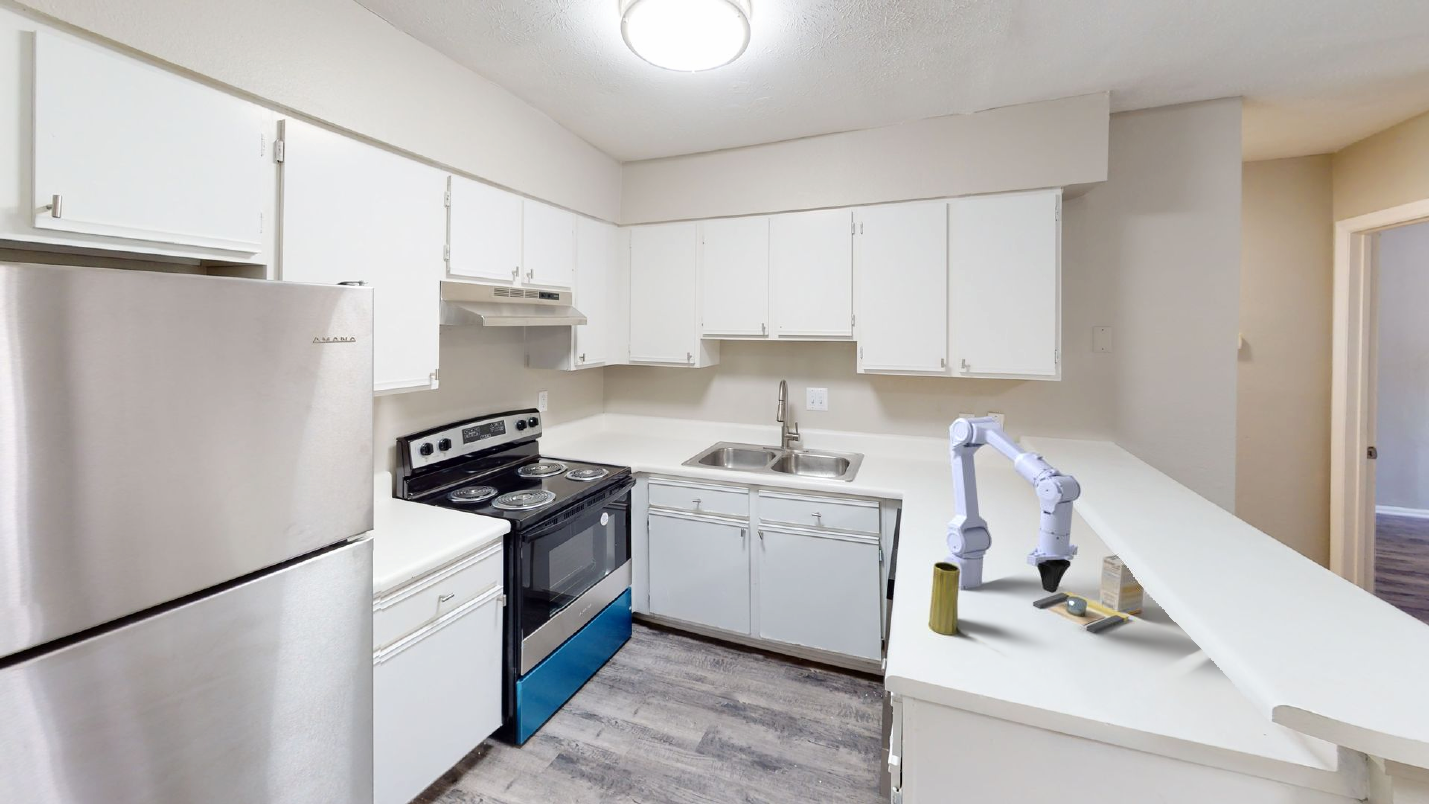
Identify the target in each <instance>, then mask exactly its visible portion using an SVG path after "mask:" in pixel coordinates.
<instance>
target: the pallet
mask: <svg viewBox="0 0 1429 804" xmlns="http://www.w3.org/2000/svg"><path fill="white" fill-rule="evenodd" d="M1066 606H1067V601H1066V602H1064V603H1061V604H1057V605H1055V606H1052V607H1049V608H1047V610H1048V611H1050V612H1053V613H1055V614H1057V615H1059V616H1061V617H1064V618H1065V619H1067V620H1070V621H1073V622H1075V623H1077V624H1079V625H1080V626H1085V625H1086V626H1087V625H1090V624H1092V623H1095V622H1098V621H1099V620H1103V619H1104V618H1105V616H1104V615H1101V614H1099V613H1098V612H1094V611H1093V610H1091V609H1088V608H1086V616H1084V617H1077V616H1073V615H1071V614H1069V613H1067V611H1066ZM1105 619H1106V618H1105Z"/></svg>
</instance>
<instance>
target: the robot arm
mask: <svg viewBox="0 0 1429 804" xmlns="http://www.w3.org/2000/svg"><path fill="white" fill-rule="evenodd" d="M949 440H950V443H949V454H950V465H951V479H952V486H953V496H954V497H953V499H954V508H955V516H954V517H953V518H952V519H951V520H950V522H948V524H947V533H946V546H947V547H948V549H949V551H950V553H951V554H950V555H948V556H946V558H945V559H943V562H948V563H952V564H954V565H956V566H958V567H959V569H960V575H959V590H958V592H959V591H963V590H966V589H971V588H979V587H981V586H982V585H983V584H982V583H983V582H982V581H983V568H984V566H983V565H984V556H985V555H986V554H987V550H989V549H990V548H991V547H992V544H993V543H992V542H993V540H992V535H991V533H990V531H989V529H988V528H989V527H988V521H986V520H985V519H984V518H983V517H981V516H980V513H979V500H978V489H977V480H976V479H977V478H976V469H975V455H974V454H976V452H978V450H980V448H981V447H983V446H986V445H990V446H991V447H992V448H994V449H995V450H996V451H998V452H999V453H1000V454H1001V455H1003V456H1004V457H1006V458H1007V459H1008V460H1010V461H1011V462H1012V463H1014V470H1015V472H1016V473H1018V474H1019V475H1020V476H1021V477H1023V479H1025V480H1026V481H1027V482H1028V483H1029V484H1030V485H1031V486H1033V487H1034V488H1035V493H1036V496H1037V498H1038V500H1039V507H1040V519H1039V530H1038V542H1037V546H1036V548H1035V549H1033V551H1032V552H1030V553H1028V554H1027V555H1026V564H1029V565H1031V566H1033V567H1036V568H1037V570H1038V572H1039V575H1040V579H1041V584H1042V589H1043V590H1044V591H1047V592H1049V593H1051V594H1054V593H1057V590H1058V588H1059V586H1060V583H1061V580H1062V578H1063V577H1064V575H1065V573H1066V571H1067V570H1068V569H1069V568H1070V567H1071V563H1072V562H1071V560H1074V556H1077V555H1078V545H1075V544H1072V543H1070V538H1071V532H1072V531H1071V530H1072V520H1073V507H1074V502H1075V501H1077V500H1078V499H1079V497H1080V496H1081V492H1082V490H1081V485H1080V483H1079V481H1078V480H1077V479H1076V478H1075V477H1074V475H1072V474H1069V473H1068V474H1067V473H1061V472H1060V470H1059V469H1058V468H1054V467H1053V466H1052V465H1050V464H1049V463H1048V462H1047V461H1046V460H1044V459H1043V455H1042V454H1040V453H1036V452H1027V451H1025V450H1024V448H1022V447H1021V446H1020V445H1019V444H1018V443H1017V442H1016V441H1014V439H1013V438H1011V437H1010V436H1009V435H1008V434H1007V433H1006V432H1005V431H1004V430H1003V429H1002V425H1001V423H999V422H997V421H996V420H995V419H994V418H993V417H991V416H983V417H971V418H969V417H967V418H963V417H959V418H957V419H956V420H954V421H953V422H952V424H951V425H950V426H949Z"/></svg>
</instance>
